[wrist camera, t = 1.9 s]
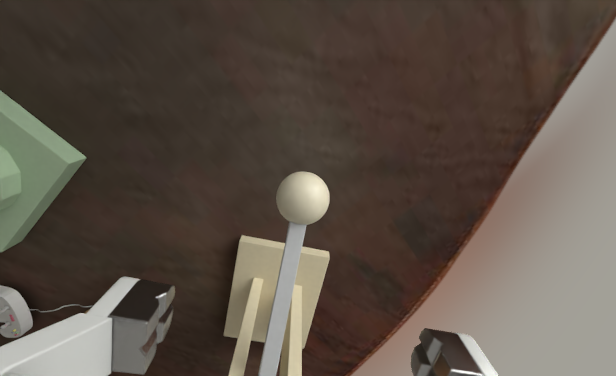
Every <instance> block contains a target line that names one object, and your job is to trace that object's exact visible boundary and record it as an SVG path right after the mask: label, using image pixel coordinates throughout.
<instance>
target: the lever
mask: <svg viewBox="0 0 616 376" xmlns="http://www.w3.org/2000/svg"><path fill="white" fill-rule="evenodd" d="M276 202H277V207H278V209H279V211H280V213H281V214H282V215H283V217H284V218H286V219H287V220H288V221H290V222H289V227H288V231H287V236H286V241H285V246H284V251H283V256H282V261H281V266H280V270H279V275H278V280H277V285H276V290H275V295H274V300H273V305H272V310H271V314H270V319H269V324H268V329H267V334H266V339H265V344H264V349H263V353H262V358H261V363H260V368H259V373H258V376H276V372H277V367H278V362H279V357H280V352H281V348H282V343H283V338H284V333H285V328H286V323H287V318H288V313H289V308H290V303H291V298H292V293H293V289H294V284H295V279H296V274H297V269H298V264H299V259H300V254H301V249H302V244H303V239H304V234H305V229H306V225H308V224H312V223H314V222H316V221H318V220H319V219H320V218H321V217H322V216H323V215H324V214H325V212H326V211H327V208H328V205H329V191H328V188H327V186H326V184H325V183H324V181H323V180H322V179H321V178H319V177H318V176H317V175H315V174H313V173H309V172H296V173H293V174H291V175H289V176H288V177H286V178H285V179H284V180H283V181H282V182H281V184H280V186H279V188H278V190H277V195H276Z"/></svg>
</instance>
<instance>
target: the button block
mask: <svg viewBox="0 0 616 376" xmlns="http://www.w3.org/2000/svg"><path fill="white" fill-rule="evenodd" d="M86 158H87V157H85V156H84V155H83V154H82V153H80V152H79V151H78V150H76V149H75V148H74V147H73V146H71V145H70V144H69V143H67V142H66V141H65V140H64V139H62V138H61V137H60V136H58V135H57V134H56V133H55V132H53V131H52V130H51V129H49V128H48V127H47V126H46V125H44V124H43V123H42V122H40V121H39V120H38V119H37V118H35V117H34V116H33V115H31V114H30V113H29V112H28V111H26V110H25V109H24V108H22V107H21V106H20V105H19V104H17V103H16V102H15V101H13V100H12V99H11V98H10V97H8V96H7V95H6V94H4V93H3V92H2V91H1V90H0V252H3V251H5V250H7V249H8V248H10V247H12V246H14V245H16V244H17V243H19V242H21V241H22V240H23V239H24V238H25V236H26V235H27V234H28V232H29V231H30V230H31V229H32V227H33V226H34V225H35V223H36V222H37V221H38V220H39V218H40V217H41V216H42V215H43V213H44V212H45V211H46V209H47V208H48V207H49V206H50V204H51V203H52V202H53V200H54V199H55V198H56V197H57V195H58V194H59V193H60V192H61V190H62V189H63V188H64V186H65V185H66V184H67V183H68V181H69V180H70V179H71V177H72V176H73V175H74V174H75V172H76V171H77V170H78V168H79V167H80V166H81V165H82V163H83V162H84V161H85V160H86Z"/></svg>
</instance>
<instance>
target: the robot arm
mask: <svg viewBox="0 0 616 376" xmlns="http://www.w3.org/2000/svg"><path fill="white" fill-rule="evenodd" d="M174 296H175V287H174V285H169V284H164V283H159V282H153V281H148V280H143V279H136V278H131V277H126V276H124V277H122V278H120V279H118V281H117V282H116V283H115V284H114V285H113V286H112V287H111V288H110V289H109V290H108V291H107V292H106V293H105V294H104V295H103V296H102V297H101V298H100V299H99V300H98V301H97V302H96V303H95V305H94V306H93V307H92V308H91V309H90V310H89V311H88V312H87V313H86V314H84V313H79V314H77V315H74V316H72V317H69V318H67V319H65V320H62V321H60V322H58V323H55V324H53V325H51V326H48V327H46V328H43V329H41V330H39V331H36V332H34V333H32V334H29V335H27V336H25V337H22V338H20V339H18V340H15V341H13V342H10V343H8V344H6V345H3V346H1V347H0V376H108V375H109V374H111V371H116V372H125V373H134V374H143V375H144V374H145V372H146V370H147V368H148V367H149V365H150V363H151V361H152V359H153V358H154V356H155V354H156V345H157V344H158V343H160V342H162V341H163V339H164V337H165V336H166V334H167V331H168V329H169V326H170V323H171V320H172V315H173V307H172V305H171V304H170V303H171V301H172V300H173V298H174ZM419 339H420V341H421V343H420V344H419V345H417V346H416V347H415V348H414V350H413V353H412V356H411V368H412V372H413V375H414V376H499V375H498V374H497V372H496V371H495V369H494V368H493V367H492V365H491V364H490V362H489V361H488V359H487V358H486V356H485V355H484V354H483V352H482V351H481V349H480V348H479V346H478V345H477V343H476V342H475V340H474V339H473V338H472V337H471V336H470V335H467V334H460V333H451V332H445V331H439V330H433V329H427V328H425V329H424V330H423V331H422V332H421V334H420V336H419Z"/></svg>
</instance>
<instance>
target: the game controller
mask: <svg viewBox="0 0 616 376" xmlns="http://www.w3.org/2000/svg"><path fill="white" fill-rule="evenodd" d="M72 305H80V304H72ZM72 305H66V306H72ZM66 306H62V307H66ZM80 306H81V305H80ZM93 306H94V305H93ZM93 306H81V307H93ZM62 307H60V308H62ZM60 308H59V309H60ZM59 309H56V310H59ZM30 310H38V309H29V308H28V306H27V304H26V302H25V300H24V299H23V297H22V296H21V295H20V293H19V292H18V291H16V290H15V289H12V288H9V287H5V286H1V285H0V322H5V324H4V325H2V326H1V327H0V328H1V329H0V333H1V334H2V335H3V336H4V337H12V338H16V337H20V336H21V335H23V334H24V333H25V332H27V331H28V330H29V329H31V328H32V326H33V321H32V316H31V313H30ZM51 311H55V310H51ZM39 312H50V311H39Z"/></svg>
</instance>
